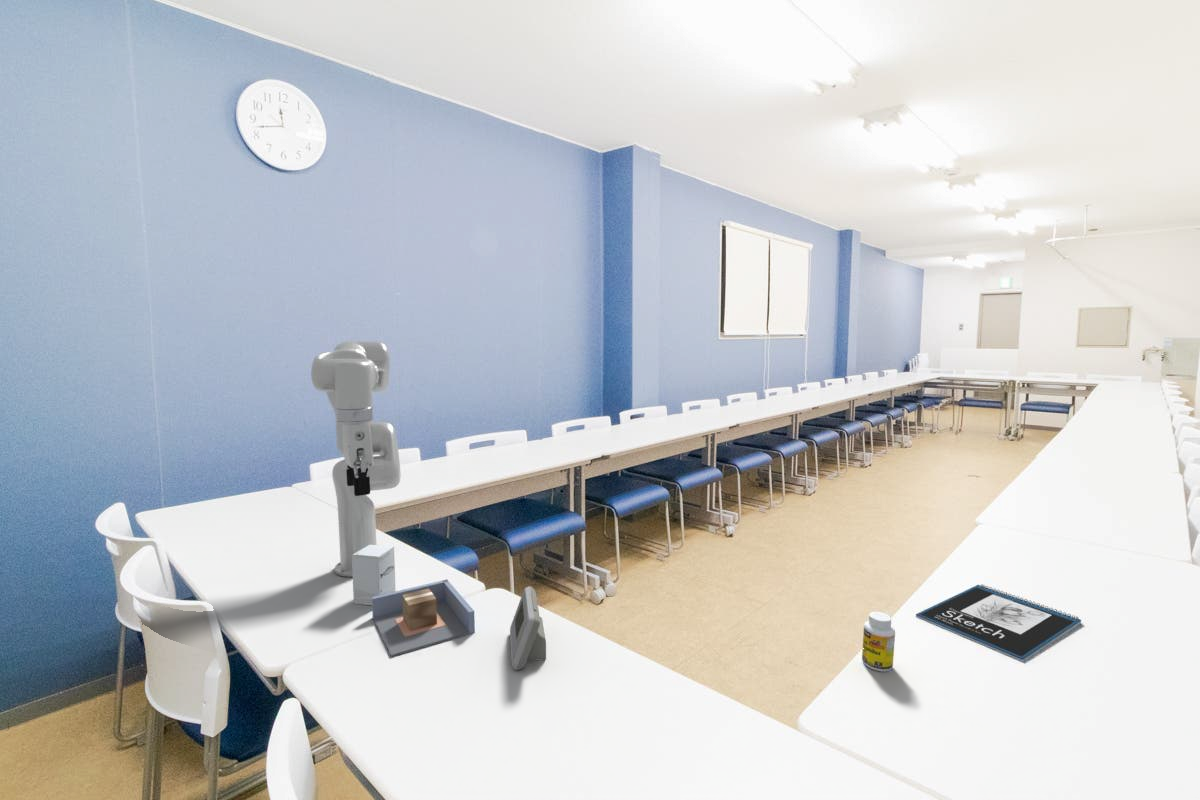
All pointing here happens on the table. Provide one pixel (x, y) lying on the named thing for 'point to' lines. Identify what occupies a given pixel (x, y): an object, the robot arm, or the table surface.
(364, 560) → the supplement box
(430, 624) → the brown cardboard box
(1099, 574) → the table surface
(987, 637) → the sketchbook
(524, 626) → the digital clock
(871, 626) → the supplement bottle
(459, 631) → the arena
